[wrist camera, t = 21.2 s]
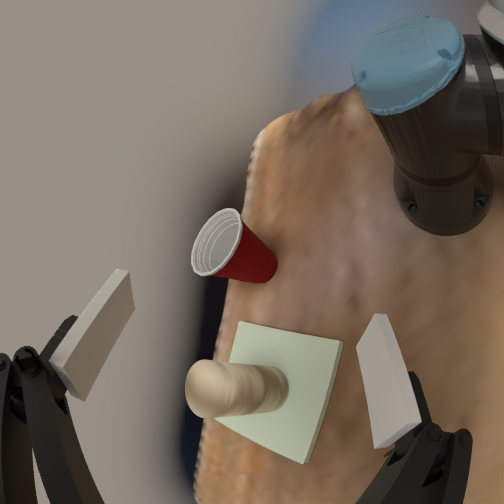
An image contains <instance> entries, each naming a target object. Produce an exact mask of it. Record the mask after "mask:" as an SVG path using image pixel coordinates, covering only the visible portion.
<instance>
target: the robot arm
mask: <svg viewBox="0 0 504 504" xmlns="http://www.w3.org/2000/svg"><path fill="white" fill-rule="evenodd" d="M477 18H478V22H479V25H480V28H481V32H482V35H462V34H461V33H460V32H459V30H457V28H456V27H455V26H454V25H453V24H452V23H451V22H449V21H447V20H445V19H443V18H440V17H436V16H434V17H430V18H429V17H428V16H426V15H418V16H410V17H406V18H402V19H399V20H395V21H393V22H390V23H388V24H386V25H384V26H382V27H380V28H378V29H377V30H376V31H374V32H372V33H371V34H370V35H369V36H368V37H366V38H365V39H364V40H363V41H362V43H361V44H360V45H359V46H358V48H357V49H356V51H355V53H354V55H353V58H352V62H351V72H352V76H353V79H354V81H355V83H356V85H357V87H358V89H359V91H360V93H361V95H362V97H363V102H364V104H365V106H366V108H367V109H368V110H369V111H370V112H371V114H372V116H373V118H374V120H375V121H376V123H377V125H378V127H379V129H380V131H381V133H382V135H383V137H384V139H385V141H386V143H387V145H388V147H389V149H390V151H391V153H392V155H393V157H394V160H395V163H394V188H395V193H396V196H397V198H398V201H399V203H400V205H401V208H402V209H403V211H404V213H405V214H406V216H407V217H408V218H409V219H410V220H411V221H412V222H413V223H414V224H415V225H417V226H418V227H420V228H421V229H423V230H425V231H428V232H430V233H433V234H438V235H457V234H461V233H464V232H466V231H468V230H470V229H472V228H474V227H475V226H476V225H478V224H479V223H480V222H481V221H482V219H483V218H484V217H485V215H486V214H487V212H488V210H489V208H490V205H491V200H492V192H493V180H492V174H491V170H490V168H489V165H488V163H487V160H486V158H485V156H484V154H490V155H499V156H504V0H486V2H485V3H484V4H483V5H482V7H481V8H480V9H479V10H478V12H477ZM134 310H135V307H134V301H133V295H132V289H131V281H130V274H129V271H126V270H122V269H118V268H117V269H116V270H115V272H114V273H113V274H112V275H111V276H110V277H109V279H108V280H107V281H106V282H105V284H104V285H103V286H102V287H101V289H100V290H99V291H98V292H97V294H96V295H95V296H94V298H93V299H92V300H91V301H90V303H89V304H88V306H87V307H86V308H85V310H84V311H83V312H82V314H81V315H80V316H79V317H77V316H74V315H72V316H70V317H69V318H67V319H66V320H64V322H63V323H62V324H61V326H60V327H59V329H58V330H57V331H56V333H55V334H54V336H53V337H52V338H51V339H50V341H49V342H48V344H47V345H46V346H45V348H44V349H43V351H42V352H41V354H40V355H38V353H37V351H36V350H35V349H34V348H32V347H30V346H24V347H21V348H20V349H19V350H18V351H16V353H15V355H14V358H13V361H11V359H10V358H9V356H7V355H6V354H4V353H0V504H38V502H37V496H36V490H35V481H34V471H33V457H32V448H33V451H34V455H35V459H36V463H37V466H38V470H39V473H40V476H41V479H42V482H43V485H44V488H45V490H46V493H47V496H48V498H49V501H50V504H104V502H103V499H102V497H101V495H100V494H99V491H98V489H97V487H96V485H95V483H94V480H93V478H92V476H91V473H90V471H89V469H88V466H87V463H86V461H85V458H84V455H83V453H82V450H81V447H80V444H79V441H78V438H77V435H76V432H75V428H74V425H73V422H72V418H71V415H70V411H69V407H68V403H67V399H66V396H65V393H66V391H67V390H68V391H69V392H70V394H71V395H72V396H73V397H76V398H78V399H80V400H82V401H84V402H85V400H86V398H87V396H88V394H89V392H90V390H91V388H92V386H93V384H94V382H95V380H96V378H97V376H98V374H99V372H100V370H101V368H102V367H103V365H104V363H105V361H106V359H107V357H108V355H109V353H110V352H111V350H112V348H113V346H114V345H115V343H116V341H117V339H118V337H119V336H120V334H121V332H122V330H123V329H124V327H125V325H126V323H127V322H128V320H129V318H130V317H131V315H132V313H133V312H134ZM356 350H357V354H358V359H359V364H360V368H361V373H362V378H363V383H364V388H365V394H366V399H367V405H368V411H369V417H370V423H371V430H372V436H373V444H374V449H376V448H384V447H389V446H390V445H391V444H393V443H394V442H395V448H393V449H392V450H390V451H389V452H387V453H386V454H385V455H384V457H386V456H388V455H389V454H390V455H389V456H388V458H387V460H386V461H385V463H384V464H383V466H382V467H381V469H380V471H379V472H378V474H377V475H376V476H375V478H374V479H373V481H372V482H371V484H370V485H369V486H368V488H367V489H366V490H365V492H364V493H363V494H362V496H361V497H360V498H359V500H358V501H357V502H356V503H355V504H463V500H464V496H465V491H466V486H467V481H468V475H469V468H470V461H471V453H472V443H473V440H472V435H471V433H470V432H469V431H468V430H467V429H464V428H461V429H459V430H458V431H456V432H455V433H449V432H443V431H442V430H441V428H440V427H439V426H438V425H437V424H434V423H432V420H431V417H430V413H429V410H428V406H427V403H426V400H425V397H424V393H423V390H422V387H421V384H420V381H419V379H418V377H417V376H416V374H415V373H414V372H413V371H411V372H407V369H406V366H405V363H404V360H403V357H402V354H401V351H400V349H399V346H398V343H397V340H396V337H395V335H394V332H393V329H392V327H391V324H390V322H389V319H388V317H387V314H378V313H375V314H374V316H373V318H372V319H371V321H370V323H369V325H368V327H367V328H366V330H365V332H364V334H363V335H362V337H361V339H360V341H359V342H358V344H357V346H356Z"/></svg>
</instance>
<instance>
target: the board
mask: <svg viewBox="0 0 504 504" xmlns="http://www.w3.org/2000/svg"><path fill="white" fill-rule="evenodd" d="M343 344H344V341H339V340H333V339H327V338H322V337H316V336H310V335H305V334H300V333H294V332H289V331H284V330H279V329H275V328H270V327H265V326H261V325H256V324H252V323H247V322H243V321H239V324H238V328H237V332H236V336H235V340H234V344H233V348H232V352H231V356H230V360H229V363H239V364H250V365H263V366H273V367H276V368H278V369H280V370H281V371H282V372H283V373H284V375H285V376H286V378H287V381H288V385H289V393H288V397H287V400H286V402H285V403H284V405H283V406H282V407H281V408H279V409H278V410H276V411H272V412H265V413H258V414H250V415H241V416H231V417H219V418H214V419H215V420H217V421H219V422H220V423H222V424H224V425H225V426H227V427H229V428H230V429H232V430H234V431H236V432H237V433H239V434H241V435H243V436H245V437H247V438H248V439H250V440H252V441H254V442H256V443H258V444H260V445H262V446H264V447H266V448H268V449H270V450H272V451H274V452H276V453H278V454H280V455H283V456H285V457H287V458H289V459H292V460H294V461H296V462H299V463H301V464H305V463H307V462H309V459H310V457H311V454H312V451H313V449H314V446H315V443H316V440H317V437H318V434H319V431H320V428H321V425H322V422H323V419H324V416H325V412H326V409H327V406H328V402H329V399H330V396H331V392H332V388H333V385H334V381H335V377H336V373H337V369H338V365H339V361H340V357H341V353H342V348H343Z"/></svg>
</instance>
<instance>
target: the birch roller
mask: <svg viewBox="0 0 504 504" xmlns="http://www.w3.org/2000/svg"><path fill="white" fill-rule="evenodd" d="M288 393H289V385H288V381H287V378H286V376H285V375H284V373H283V372H282V371H281V370H280V369H278V368H276V367H273V366H263V365H250V364H239V363H229V362H220V361H212V360H200V361H198V362H196V363H195V364H194V365H193V366H192V367H191V369H190V370H189V372H188V375H187V378H186V383H185V394H186V399H187V402H188V404H189V407H190V408H191V410H192V411H193V412H194V413H195V414H196V415H197V416H199V417H201V418H219V417H231V416H241V415H250V414H258V413H265V412H272V411H276V410H278V409H279V408H281V407H282V406H283V405H284V403H285V402H286V400H287V397H288Z"/></svg>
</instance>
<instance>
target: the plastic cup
mask: <svg viewBox="0 0 504 504" xmlns="http://www.w3.org/2000/svg"><path fill="white" fill-rule="evenodd" d="M191 261H192V262H191V264H192V267H193V269H194V272H196V273H197V274H199V275H201V276H207V275H211V276H218V277H225V278H230V279H235V280H240V281H245V282H246V281H248V282H253V283H265V282H267V281H268V280H270V279H271V278H272V277H273V275H274V274H275V271H276V269H277V259H276V256H275V255H274V254H273V252H272V251H271V250H270V249H269V248H268V247H267V246H266V245H265V244H264V243H263V242H262V241H261V240H260V239H259V238H258V237H257V236H256V235H255V234H254V233H253V232H252V231H251V230H250V229H249V228H248V227H247V226H246V224H245V223H244V222H243V221H242V218H241V216H240V215H239V213H238V212H237V211H236V210H235V209H231V208H226V209H223V210H221V211H219V212H217V213H216V214H215V215H213V216H212V217H211V218H210V219H209V220H208V221H207V223H206V224H205V225H204V226H203V228H202V229H201V231H200V232H199V234H198V237H197V238H196V240H195V243H194V247H193V250H192V258H191Z"/></svg>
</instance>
